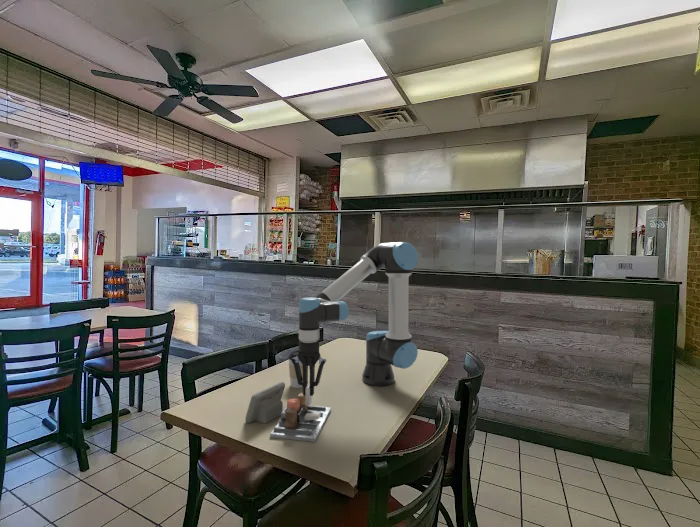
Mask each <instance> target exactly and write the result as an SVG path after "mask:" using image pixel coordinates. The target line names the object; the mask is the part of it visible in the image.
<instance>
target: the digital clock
mask: <svg viewBox="0 0 700 527" xmlns="http://www.w3.org/2000/svg"><path fill="white" fill-rule="evenodd" d="M285 388H286V383H285V382H284V381H281V382H278V383H275V384H273V385H271V386H268V387H265V388H263V389H262V390H260V391H258V392H256V393H253V394H252V395H251V396H250V401H249V404H248V407H247V411H246V414H245V420H244V421H245V423H247V424H248V423H253V422H254V421H257V422H259V423H262V424H267V423H269V422H272V420H274V419H276V418H278V417H279V416H281V412H282V411H283V410H284V409H283V401H282V398H283V394H284V391H285Z"/></svg>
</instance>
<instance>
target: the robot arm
mask: <svg viewBox="0 0 700 527" xmlns="http://www.w3.org/2000/svg"><path fill="white" fill-rule="evenodd" d="M418 255H419V254H418V252H417V249H416V247H414V246H413V244H411V243H410V242H406V241H405V242H404V241H397V242H395V241H394V242H382V243H378V244H377V245H375V246H374V247H372V248H371V249H369V250H368V251H367V252H365V253H364V254H363V255H361V256H360V259H359V261H357V263H355V264H354V265H353V266H352V267H350V268H349V269H348V270H347V271H345V272H344V273H343V274H342V275H341V276H340V277H338V278H337V279H336V280H334V281H333V282H332V283H331V284H329V285H328V286H327V287H326V288H324V290H322V291H321V292H320V293H319V294H316V296H310V297H302V298H300V300H299V305H298V340H299V341H298V350H299V353H298V355H297V356H296V357H294V358H293V359H292V360H291V361H292V363H293V365H294V368H295V372H296V377H297V381H298V384H299V385H302V386H303V387H302V393H303V395H306V405H308V406H309V405H311V403H312V397H313V396H314V394H315V387H317V386H318V385H319V384H320V381H321V378H322V373H323V369H324V366H325V364H326V362H327V359H326V358H323V357H322V356H321V353H320V341H319V340H320V324H321V323H332V322H340V321H346V319H348V317H349V306H348V303H346V302H345V301H344V300H343V301H341V299H342V298H344V297H345V296H346V295H347V294H348V293H349V292H351V291H352V289H354V288H355V287H357V285H359V284H360V283H361V282H362V281H364V280H365V279H366V278H367V277H369V276H370V275H371V274H375V273H377V272H378V271H380V270H381V269H384V273H385V275H386V276H387V278H388V330H375V331H373V330H372V331H370V332H367V334H366V338H365V343H366V344H365V345H366V346H365V347H366V348H365V349H366V351H365V352H366V354H365V356H366V357H365V359H366V360H365V366H364V369H363V372H362V375H361V376H362V378H361V380H362V382H363V383H365V384H367V385H369V386H374V387H375V386H376V387H385V386H390V385H393V383H395V373H394V370H393V367H392V366H394V367H395V368H400V369H401V370H403V369H404V370H405V369H408V368H410V367H411V366H413V365H414V363H415V362H416V360H417V358H418V354H419V352H418V347H417V345H416V344H415V343H414V342H413V335H412V334H411V333H410V332H409V284H410V282H409V280H410V278H409V277H410V276H411V275H412V274H413V269H415V267H416V266H417V264H418V260H419V259H418V258H419V256H418ZM299 360H300V362H301V363H302V364H303V378H302V374H301V369H300V365H299ZM317 363H318V365H319V366H318V369H317V373H316V372H315V370H316V369H315V368H316V364H317ZM315 374H316V376H315Z"/></svg>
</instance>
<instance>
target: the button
mask: <svg viewBox="0 0 700 527" xmlns="http://www.w3.org/2000/svg"><path fill="white" fill-rule="evenodd" d="M286 406H287V409H288V408H294V409H297V412H298V411H299V410H300V400H299V399H298V398H289V399H287V401H286Z"/></svg>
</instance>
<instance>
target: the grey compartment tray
mask: <svg viewBox="0 0 700 527" xmlns="http://www.w3.org/2000/svg"><path fill="white" fill-rule="evenodd" d="M286 411H287V405H286V406H285V407H284V409H283V411H282V412H281V415H280V419H279V421H278V422H277V424H276V425H275V426H274V427H273V429H272V431H271V432H270V433H269V435H270V436H269V437H270V438H273V439H274V438H275V439H281V440H282V439H283V440H291V441H293V440H294V441H300V442H312V443H316V441H317V440H318V438H319V435H320V434H321V432H322V430H323V427H324V425H325V424H326V421H327V419H328V417H329V415H330V413H331V411H332V408H331V407H327V406H322V405H321V406H320V405H311V404H310V405H309V406H308V409H307V411H305V406H300V410H299V411H298V412H297V427H296V428H295V429H294V428H285V412H286ZM314 412H320V413H321V416H320V418H319V419H317V420H305V419H304V417H305V415H306V414H307V413H314Z"/></svg>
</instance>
